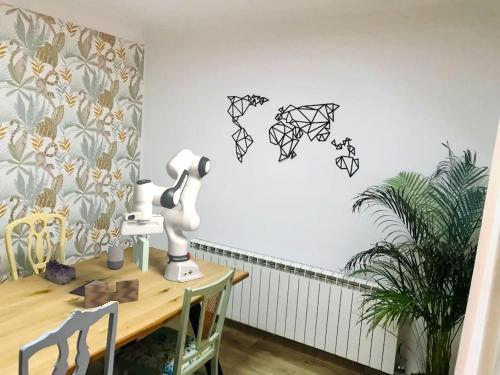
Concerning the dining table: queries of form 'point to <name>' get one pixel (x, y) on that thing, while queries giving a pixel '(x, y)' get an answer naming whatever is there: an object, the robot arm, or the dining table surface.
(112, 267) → the smart speaker
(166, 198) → the robot arm
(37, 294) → the dining table surface
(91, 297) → the walnut board
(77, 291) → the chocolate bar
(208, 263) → the dining table surface
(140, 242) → the sage plate
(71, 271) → the geode
